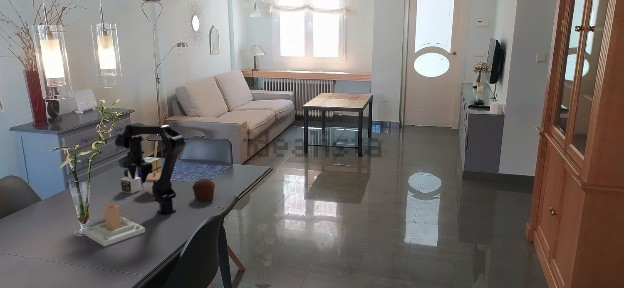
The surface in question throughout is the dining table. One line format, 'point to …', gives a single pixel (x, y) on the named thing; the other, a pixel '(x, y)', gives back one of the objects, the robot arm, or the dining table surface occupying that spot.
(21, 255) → the dining table surface
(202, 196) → the muffin
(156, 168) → the puzzle cube
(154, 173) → the lidded bowl
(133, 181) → the medicine bottle
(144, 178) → the robot arm
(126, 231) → the base plate
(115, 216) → the tall brick
